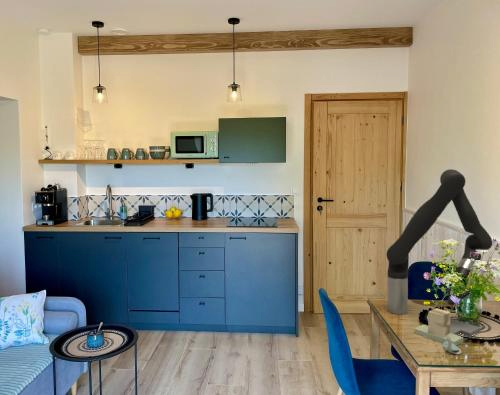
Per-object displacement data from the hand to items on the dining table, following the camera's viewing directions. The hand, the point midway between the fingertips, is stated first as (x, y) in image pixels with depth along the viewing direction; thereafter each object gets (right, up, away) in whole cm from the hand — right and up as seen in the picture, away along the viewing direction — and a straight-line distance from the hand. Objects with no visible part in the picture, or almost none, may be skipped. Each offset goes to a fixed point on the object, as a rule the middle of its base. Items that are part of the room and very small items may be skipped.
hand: (450, 304), depth 171 cm
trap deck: (-2, -12, -1) cm, 12 cm away
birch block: (-8, -10, -6) cm, 14 cm away
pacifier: (-8, -14, -17) cm, 24 cm away
